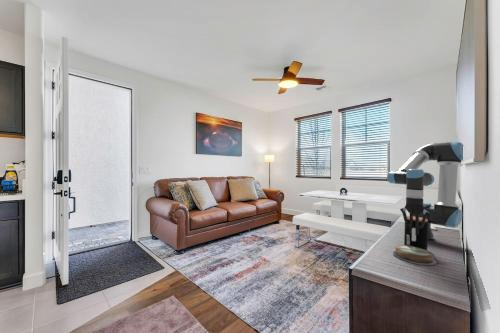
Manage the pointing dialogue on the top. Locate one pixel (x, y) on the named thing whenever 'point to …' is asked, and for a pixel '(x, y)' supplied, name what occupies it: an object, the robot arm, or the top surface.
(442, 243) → the top surface
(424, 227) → the coffee jar
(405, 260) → the wheel base
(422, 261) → the index wheel
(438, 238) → the top surface
